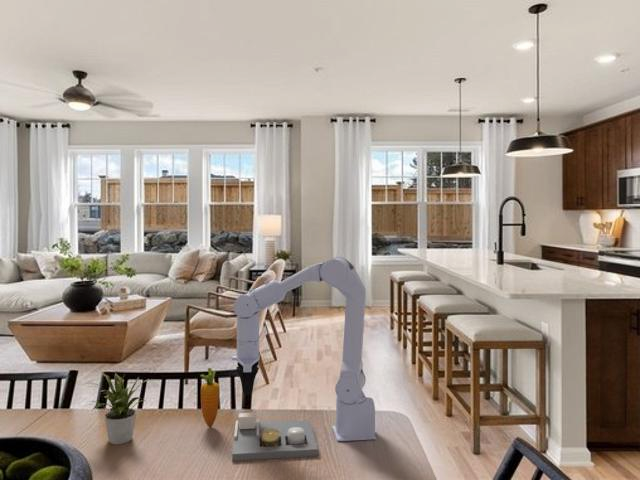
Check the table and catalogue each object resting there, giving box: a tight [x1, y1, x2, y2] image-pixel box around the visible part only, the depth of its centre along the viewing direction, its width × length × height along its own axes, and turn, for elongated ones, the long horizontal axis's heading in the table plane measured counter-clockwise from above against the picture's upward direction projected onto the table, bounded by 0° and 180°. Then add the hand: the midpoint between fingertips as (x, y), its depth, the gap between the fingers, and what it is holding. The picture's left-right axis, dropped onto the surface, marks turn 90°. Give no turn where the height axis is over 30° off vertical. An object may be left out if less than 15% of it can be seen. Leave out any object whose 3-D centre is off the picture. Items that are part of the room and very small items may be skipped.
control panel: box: [231, 419, 319, 462], centre depth 112 cm, size 19×16×2 cm
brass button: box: [261, 429, 280, 447], centre depth 109 cm, size 4×4×2 cm
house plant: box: [86, 372, 150, 445], centre depth 112 cm, size 14×14×16 cm
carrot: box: [200, 367, 220, 428], centre depth 119 cm, size 5×5×15 cm
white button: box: [287, 427, 306, 446], centre depth 109 cm, size 4×4×2 cm
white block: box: [238, 412, 256, 429], centre depth 116 cm, size 4×2×3 cm, turn 98°
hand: (247, 391), depth 122 cm, fingers open, 3 cm apart
